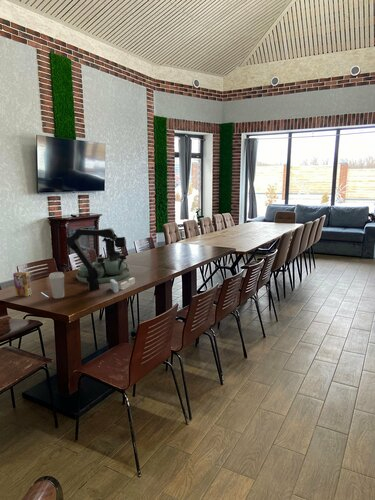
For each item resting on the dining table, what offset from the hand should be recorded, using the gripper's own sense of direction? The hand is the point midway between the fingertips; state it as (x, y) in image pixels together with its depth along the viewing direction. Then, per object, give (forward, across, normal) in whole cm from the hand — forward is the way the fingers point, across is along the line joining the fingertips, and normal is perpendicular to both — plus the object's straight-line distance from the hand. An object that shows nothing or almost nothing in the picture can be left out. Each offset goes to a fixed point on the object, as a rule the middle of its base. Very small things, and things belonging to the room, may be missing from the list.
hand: (112, 271), depth 242 cm
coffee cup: (+12, -35, +1) cm, 37 cm away
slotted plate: (+12, 0, -4) cm, 13 cm away
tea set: (+12, +2, +38) cm, 40 cm away
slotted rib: (+12, +10, 0) cm, 16 cm away
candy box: (+12, -54, +16) cm, 58 cm away
